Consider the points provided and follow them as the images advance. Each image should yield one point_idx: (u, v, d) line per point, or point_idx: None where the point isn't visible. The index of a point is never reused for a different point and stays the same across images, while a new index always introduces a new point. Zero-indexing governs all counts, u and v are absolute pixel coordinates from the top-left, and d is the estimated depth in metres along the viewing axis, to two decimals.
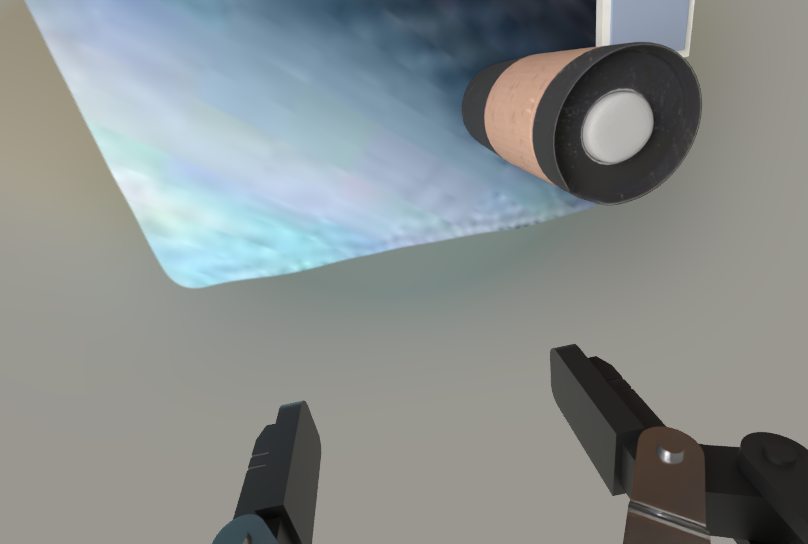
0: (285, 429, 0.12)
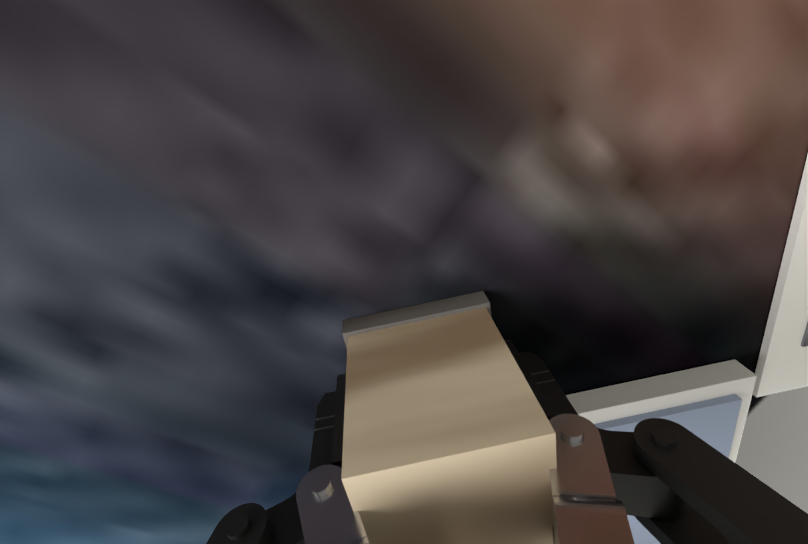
0: None
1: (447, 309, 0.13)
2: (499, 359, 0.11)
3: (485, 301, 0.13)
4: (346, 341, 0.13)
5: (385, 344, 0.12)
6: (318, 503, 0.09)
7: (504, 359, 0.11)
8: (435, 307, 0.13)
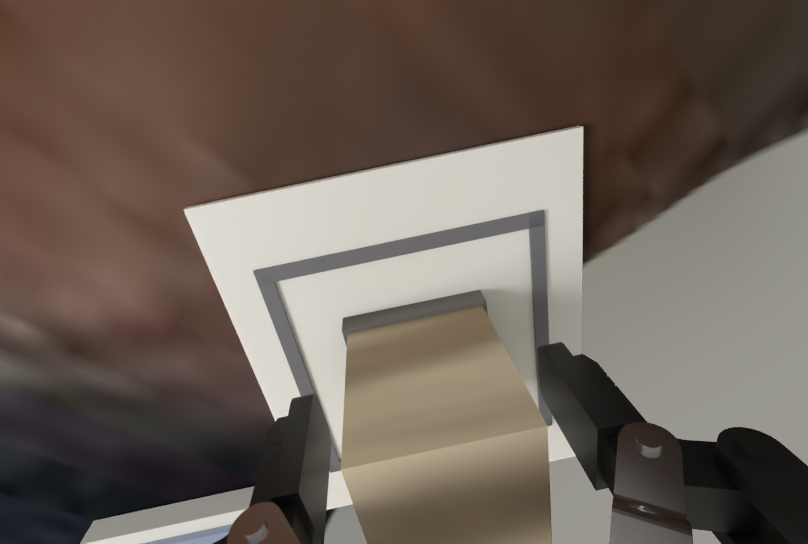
0: (297, 421, 0.12)
1: (444, 307, 0.14)
2: (494, 355, 0.11)
3: (481, 299, 0.13)
4: (345, 338, 0.14)
5: (384, 341, 0.13)
6: None
7: (499, 355, 0.11)
8: (433, 306, 0.14)
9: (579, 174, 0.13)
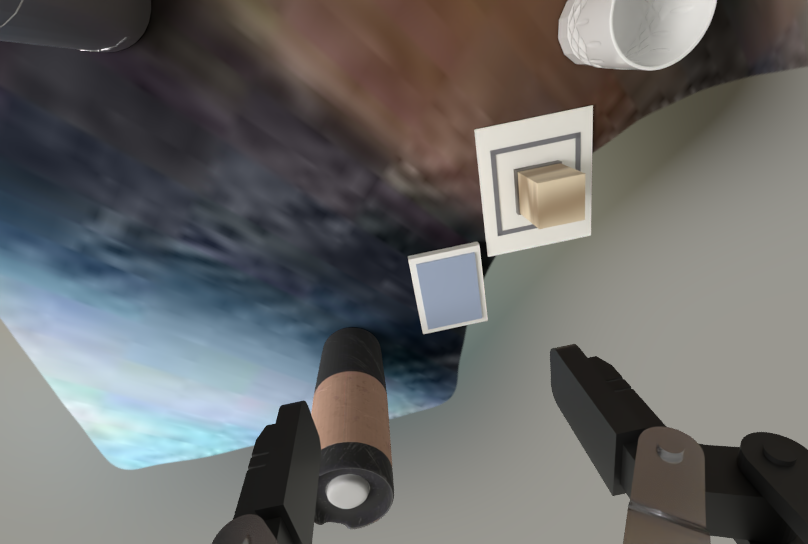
0: (285, 429, 0.12)
1: (548, 164, 0.42)
2: (568, 168, 0.40)
3: (560, 161, 0.42)
4: (516, 173, 0.42)
5: (531, 171, 0.41)
6: None
7: (569, 168, 0.40)
8: (544, 164, 0.42)
9: (591, 120, 0.42)
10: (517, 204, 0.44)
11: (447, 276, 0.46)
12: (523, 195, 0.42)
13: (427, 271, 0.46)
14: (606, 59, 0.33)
